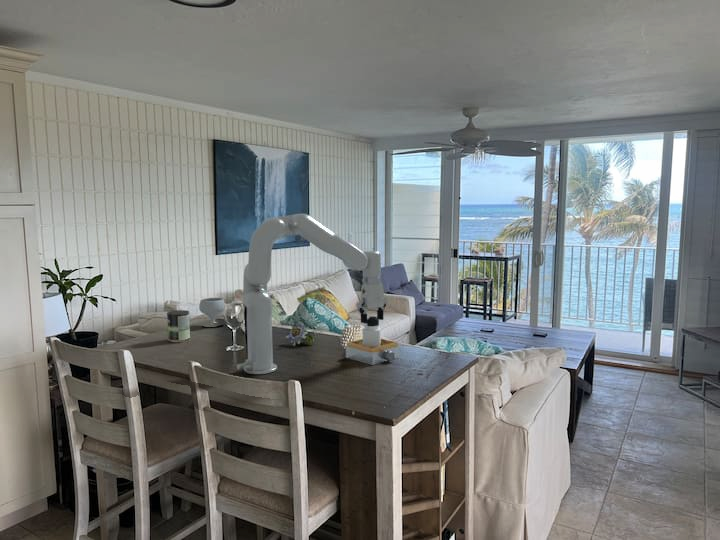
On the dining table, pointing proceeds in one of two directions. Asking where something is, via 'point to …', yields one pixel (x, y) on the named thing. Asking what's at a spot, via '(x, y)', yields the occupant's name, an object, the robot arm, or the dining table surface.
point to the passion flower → (299, 335)
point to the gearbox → (372, 351)
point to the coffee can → (178, 325)
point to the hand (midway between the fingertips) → (372, 321)
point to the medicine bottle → (372, 332)
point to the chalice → (212, 307)
